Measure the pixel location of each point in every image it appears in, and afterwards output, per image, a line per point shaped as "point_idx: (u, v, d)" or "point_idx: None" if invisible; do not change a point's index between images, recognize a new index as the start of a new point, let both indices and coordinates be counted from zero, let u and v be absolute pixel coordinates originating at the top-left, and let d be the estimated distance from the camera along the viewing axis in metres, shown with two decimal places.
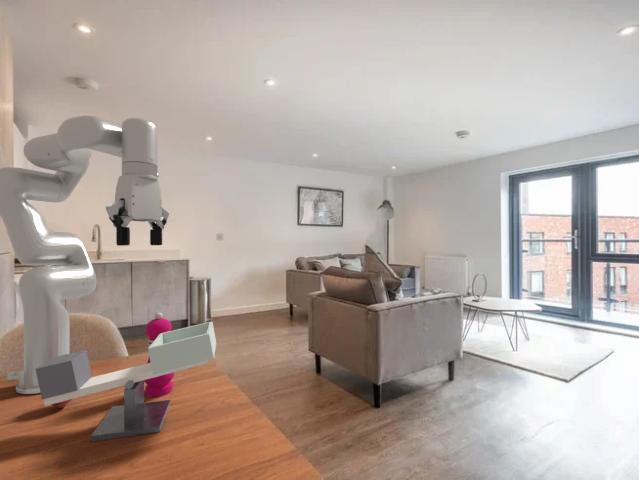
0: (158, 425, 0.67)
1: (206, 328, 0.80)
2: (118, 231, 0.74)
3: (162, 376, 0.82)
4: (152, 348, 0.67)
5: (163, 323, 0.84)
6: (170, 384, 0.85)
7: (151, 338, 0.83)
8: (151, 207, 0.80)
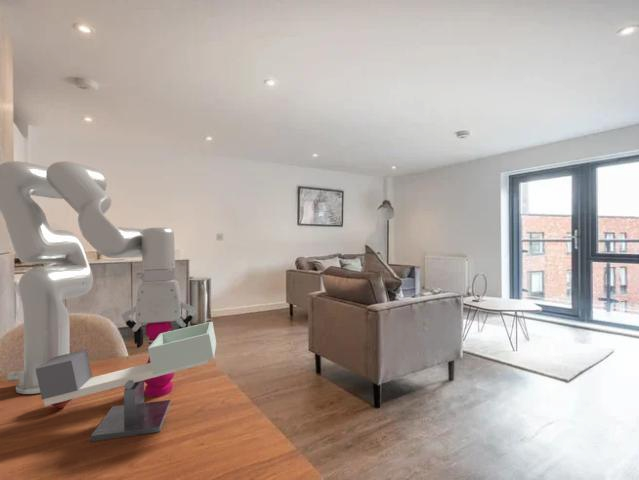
0: (158, 425, 0.67)
1: (206, 328, 0.80)
2: None
3: (162, 376, 0.82)
4: (152, 348, 0.67)
5: (163, 323, 0.84)
6: (170, 384, 0.85)
7: (151, 338, 0.83)
8: None
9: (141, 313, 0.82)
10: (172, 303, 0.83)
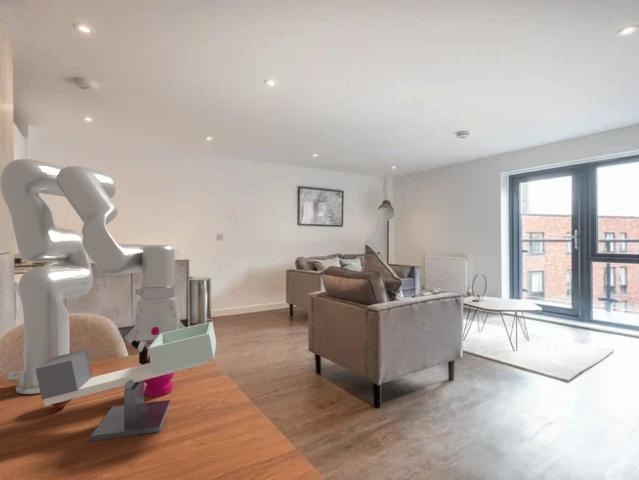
0: (158, 425, 0.67)
1: (206, 328, 0.80)
2: None
3: (162, 376, 0.82)
4: (152, 348, 0.67)
5: None
6: (170, 383, 0.85)
7: None
8: None
9: (139, 331, 0.82)
10: (171, 321, 0.83)
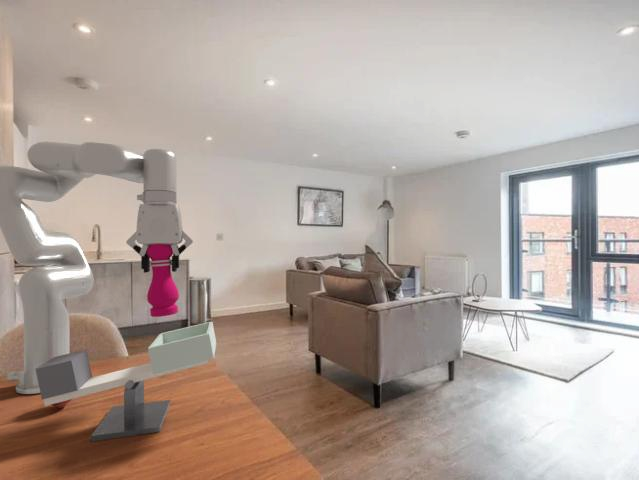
0: (158, 425, 0.67)
1: (206, 328, 0.80)
2: (178, 258, 0.85)
3: (167, 295, 0.81)
4: (152, 348, 0.67)
5: None
6: (175, 305, 0.84)
7: (153, 258, 0.82)
8: None
9: (141, 233, 0.81)
10: (173, 226, 0.83)
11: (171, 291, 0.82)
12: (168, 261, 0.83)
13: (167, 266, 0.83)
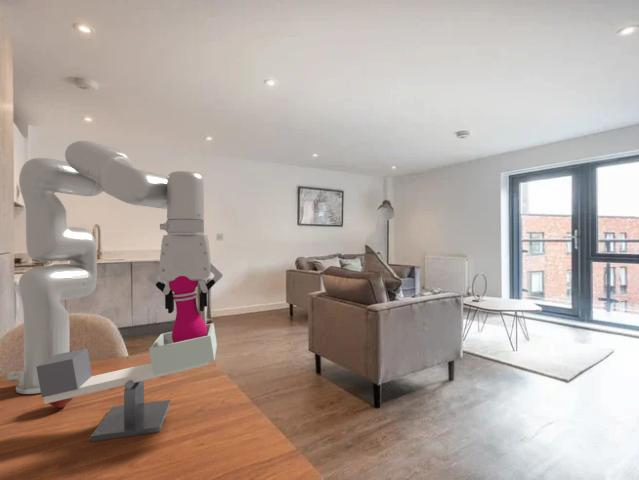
0: (158, 425, 0.67)
1: (207, 330, 0.80)
2: None
3: (194, 334, 0.71)
4: (153, 349, 0.67)
5: None
6: None
7: (176, 292, 0.71)
8: None
9: (166, 269, 0.70)
10: (201, 259, 0.72)
11: (199, 328, 0.72)
12: (193, 294, 0.72)
13: (192, 299, 0.72)
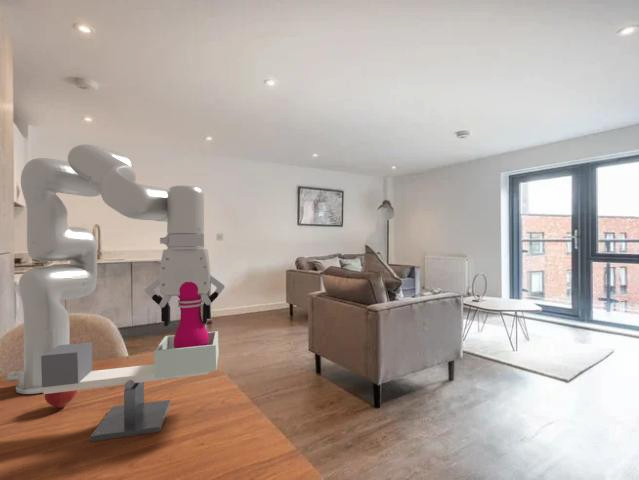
0: (158, 425, 0.67)
1: (211, 337, 0.80)
2: None
3: (196, 342, 0.71)
4: (158, 352, 0.67)
5: None
6: None
7: (182, 298, 0.72)
8: None
9: (166, 283, 0.70)
10: (201, 273, 0.72)
11: (201, 337, 0.72)
12: (199, 301, 0.73)
13: (197, 306, 0.73)
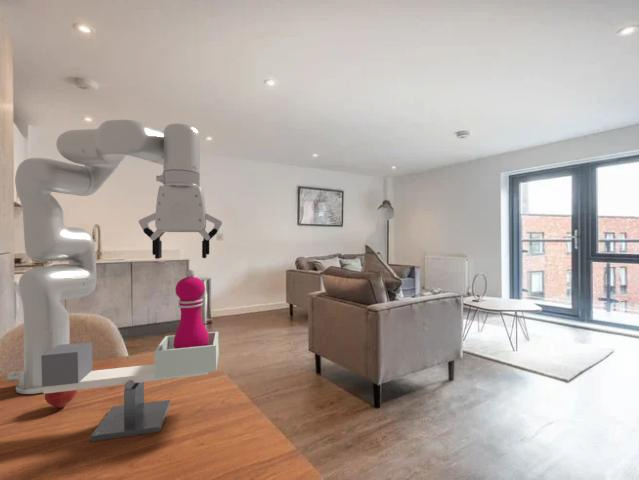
0: (158, 425, 0.67)
1: (211, 337, 0.80)
2: None
3: (197, 342, 0.71)
4: (158, 352, 0.67)
5: (196, 281, 0.72)
6: None
7: (183, 299, 0.72)
8: None
9: (161, 219, 0.72)
10: (196, 210, 0.73)
11: (202, 337, 0.72)
12: (199, 301, 0.73)
13: (197, 307, 0.73)
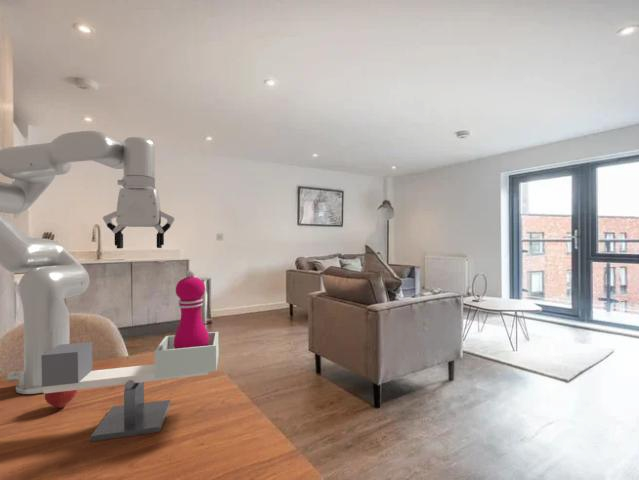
0: (158, 425, 0.67)
1: (211, 338, 0.80)
2: (163, 236, 0.92)
3: (197, 342, 0.71)
4: (158, 352, 0.67)
5: (196, 282, 0.72)
6: None
7: (183, 299, 0.72)
8: None
9: (121, 215, 0.87)
10: (151, 208, 0.89)
11: (202, 337, 0.72)
12: (199, 302, 0.73)
13: (198, 307, 0.73)
